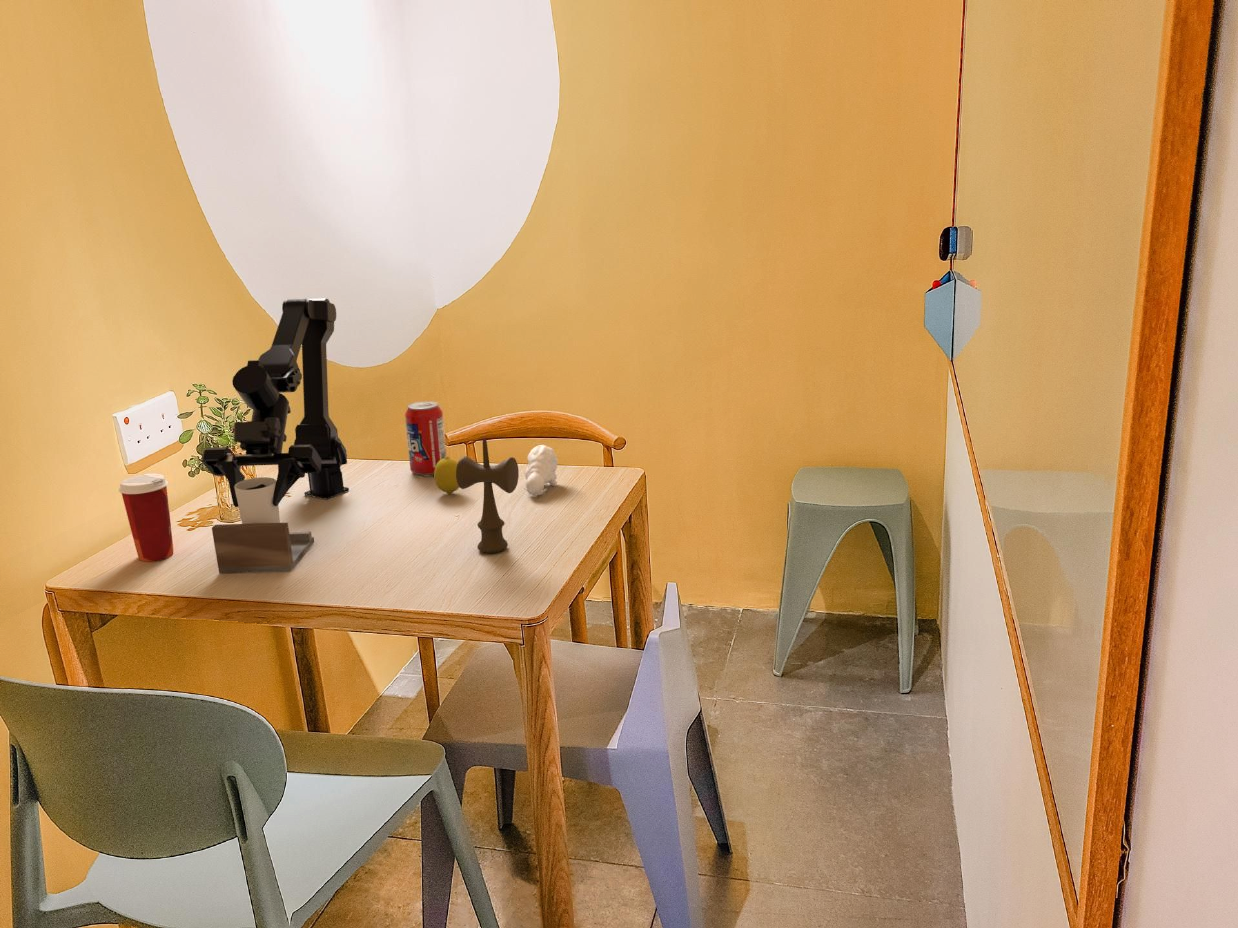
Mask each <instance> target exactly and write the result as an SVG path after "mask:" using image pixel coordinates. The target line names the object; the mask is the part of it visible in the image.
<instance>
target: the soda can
mask: <svg viewBox="0 0 1238 928" xmlns="http://www.w3.org/2000/svg"><path fill="white" fill-rule="evenodd" d="M404 420H405V428H406V429H405V430H406V431H405V432H406V439H407V449H408V458H409V459H408V461H409V469H410V471H411V473H413V474H415V475H417V476H420V477H431V476H433V477H434V471H435V467H436V465H437V463H438V462H439V461H440V460H441V459H443V458H445V457H446V456H447V448H446V447H447V446H446V437H445V436H446V435H445V426H444V415H443V410H442V409H441V407H440V406H439V402H436V401H417V402H412V403H409V404H408V405H407V409H406V411H405V413H404Z"/></svg>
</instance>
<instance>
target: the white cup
mask: <svg viewBox="0 0 1238 928" xmlns="http://www.w3.org/2000/svg"><path fill="white" fill-rule="evenodd" d="M276 481H277V479H275V478H274V477H267V476H266V477H264V476H263V477H262V476H261V477H252V478H248V479H245V480H243V481H241V482H238V483H237V484H235V487H234V488H235V493H236V497H237V502H238V507H237V508H238V511H239V515H240V520H241V524H255V523H281V518H280V516H281V515H280V507H279V504H278V505H277V506H274V505H273V495H274V490H275V485H276Z"/></svg>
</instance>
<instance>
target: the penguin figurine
mask: <svg viewBox="0 0 1238 928" xmlns="http://www.w3.org/2000/svg"><path fill="white" fill-rule="evenodd" d="M526 458H527V462H528V465H527V468H526V469H525V471H524V476H525V479H526V480H525V488H524V487H523V490H525V491H526V492H527V494H528V495H531V496H532V497H534V498H537V497H538V496H541V495H544V493H545V492H546V491H547V488H544V487H545V485H546V484H549V485H551V486H552V487H556V486H557V485H558V482H557V473H556V471H557V469H558V461H559V459H558V456H557V455H556V453H555V450H554V449H553V448H551V447H550V446H547V445H545V444H539V445H537V446H534V447H533V448H532V449H531V450H530V451H529V453H528V454H527V457H526Z"/></svg>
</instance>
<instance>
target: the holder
mask: <svg viewBox="0 0 1238 928" xmlns="http://www.w3.org/2000/svg"><path fill="white" fill-rule="evenodd" d="M211 531H212V536H213V537H212V538H213V544H214V549H215V550H214V551H215V558H216V562H217V569H218V574H231V573H233V574H234V573H235V574H236V573H265V572H266V573H267V572H268V573H270V572H272V573H273V572H275V573H277V572H292V571H293V570H294V568H295V567H296V566H297V564H298V563H299V562H300V561H301V560H302V558H303V557H304V556H305V554H307V552H308V551H309V550H310V549H311V547H312V546H313V544H314V543H315V537H314V536H312V531H310V530H307V531H290V529H289V522H280V523H255V524H242V523H229V524H228V523H227V524H221V523H220V524H214V525H213V526H212V527H211Z"/></svg>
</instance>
